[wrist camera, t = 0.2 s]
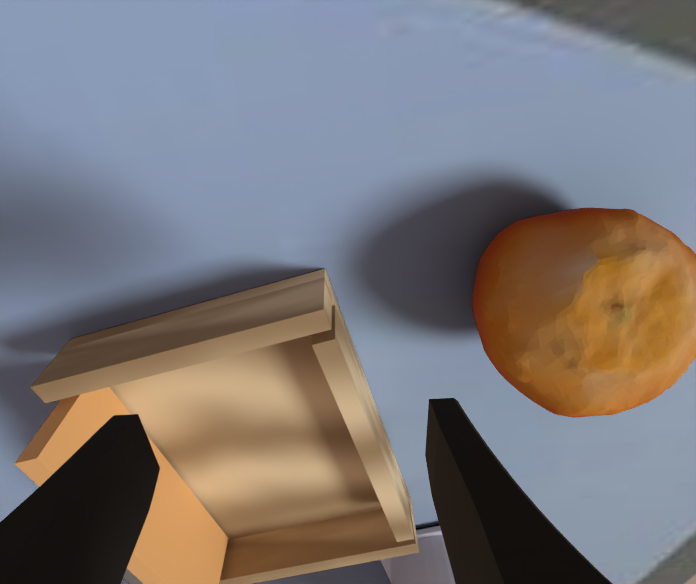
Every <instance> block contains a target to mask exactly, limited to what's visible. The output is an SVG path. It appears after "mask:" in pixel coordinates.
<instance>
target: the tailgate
mask: <svg viewBox="0 0 696 584" xmlns="http://www.w3.org/2000/svg"><path fill="white" fill-rule="evenodd" d="M114 415H130V413H129V411H128V410H127V409H126V407H125V406H124V405H123V404H122V402H121V401H120V400H119V399H118V397H117V396H116V395H115V394H114V392H113V391H112V390H111V388H110V387H107V388H103V389H99V390H95V391H92V392H88V393H84V394H80V395H76V396H72V397H68V398H65V399H61V400H60V401H59V403H58V404H57V406H56V407H55V408H54V410H53V411H52V413H51V414H50V415H49V417H48V418H47V419H46V421H45V422H44V424H43V425H42V426H41V428H40V429H39V431H38V432H37V433H36V435H35V436H34V437H33V439H32V440H31V442H30V443H29V444H28V446H27V447H26V448H25V450H24V451H23V453H22V454H21V455H20V457H19V458H18V460H17V461H16V462H15V465H16V466H18V467H19V468H20V469H21V470H22V471H23V472H24V473H25V474H26V475H27V476H28V477H29V478H30V479H32V480H33V481H34V482H35V483H36V484H37V485H38V486H39V487H40V486H41V485H42V484H43V483H44V482H45V481H46V480H47V479H48V478H49V477H50V476H51V475H52V474H54V473H55V472H56V471H57V470H58V469H59V468H60V467H61V466H62V465H63V464H64V463H65V462H66V461H67V460H68V459H69V458H70V457H71V456H72V455H73V454H74V453H75V452H76V451H77V450H78V449H79V448H80V447H81V446H82V445H83V444H84V443H85V442H86V441H88V440H89V439H90V438H91V437H92V436H93V435H94V434H95V433H96V432H97V431H98V430H99V429H100V428H101V427H102V426H103V425H104V424H105V423H106V422H107V421H108V420H109V419H110V418H111V417H113V416H114ZM146 435H147V434H146ZM147 437H148V435H147ZM148 439H149V442H150V444H151V447H152V449H153V452H154V454H155V457H156V459H157V462H158V464H159V467H160V471H159V475H158V479H157V483H156V487H155V491H154V495H153V499H152V502H151V506H150V509H149V512H148V515H147V518H146V520H145V523H144V525H143V528H142V531H141V533H140V536H139V538H138V541H137V543H136V546H135V549H134V551H133V554H132V556H131V559H130V561H129V564H128V566H127V569H126V571H125V574H124V576H123V578H124V579H125V580H127V581H128V582H129V583H130V584H219V581H220V577H221V572H222V567H223V562H224V557H225V552H226V547H227V542H228V537H227V536H226V534H225V533H224V532H223V531H222V529H221V528H220V527H219V525H218V524H217V523H216V522H215V520H214V519H213V518H212V517H211V515H210V514H209V513H208V512H207V510H206V509H205V508H204V506H203V505H202V504H201V503H200V501H199V500H198V499H197V498H196V496H195V495H194V494H193V492H192V491H191V490H190V489H189V487H188V486H187V485H186V484H185V482H184V481H183V480H182V479H181V477H180V476H179V475H178V473H177V472H176V471H175V470H174V468H173V467H172V466H171V465H170V463H169V462H168V461H167V460H166V458H165V457H164V456H163V454H162V453H161V452H160V451H159V449H158V448H157V447H156V446H155V444H154V443H153V442H152V440H151V439H150V438H149V437H148Z"/></svg>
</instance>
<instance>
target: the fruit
mask: <svg viewBox="0 0 696 584" xmlns="http://www.w3.org/2000/svg"><path fill="white" fill-rule="evenodd" d="M472 309H473V316H474V319H475V323H476V326H477V329H478V332H479V335H480V338H481V341H482V345H483V348H484V350H485V352H486V354H487V356H488V357H489V359H490V361H491V362H492V364H493V365H494V366H495V368H496V369H497V370H498V372H499V373H500V374H501V375H502V376H503V377H504V378H505V379H506V380H507V381H508V382H509V383H510V384H511V385H513V386H514V387H515V388H516V389H517V390H518V391H520V392H521V393H522V394H524V395H525V396H526V397H528V398H529V399H530V400H532V401H533V402H535V403H537V404H538V405H540V406H541V407H543V408H545V409H546V410H548V411H550V412H552V413H554V414H557V415H562V416H568V417H586V416H598V415H613V414H617V413H619V412H622V411H625V410H629V409H632V408H635V407H637V406H639V405H642V404H644V403H647V402H649V401H651V400H653V399H654V398H656V397H657V396H659V395H661V394H662V393H663V392H664V391H665V390H666V389H668V388H670V387H671V386H672V385H674V384H675V383H676V381H677V380H678V379H679V378H680V377H681V376H682V375H683V374H684V373H685V372H686V371H687V369H688V366H689V365H690V364H691V363H692V361H693V360H694V359H695V358H696V254H695V253H694V252H693V251H692V249H690V248H689V247H688V246H686V245H685V244H684V243H683V242H682V241H681V240H680V239H679V238H678V237H677V236H676V235H675V234H674V233H672V232H671V231H669V230H667V229H666V228H664V227H662V226H660V225H659V224H657V223H655V222H654V221H652V220H650V219H648V218H647V217H645V216H643V215H641V214H639V213H637V212H635V211H634V210H630V209H604V208H579V209H572V210H566V211H560V212H556V213H552V214H547V215H541V216H535V217H530V218H525V219H521V220H518V221H516V222H514V223H513V224H511V225H510V226H508V227H507V228H505V229H503V230H502V231H501V232H499V233H498V234H497V235H496V237H495V238H494V239H493V240H492V241H491V242H490V244H489V245H488V247H487V248H486V250H485V252H484V254H483V255H482V256H481V258H480V260H479V263H478V266H477V270H476V275H475V281H474V289H473V297H472Z"/></svg>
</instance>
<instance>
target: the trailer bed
mask: <svg viewBox="0 0 696 584" xmlns="http://www.w3.org/2000/svg"><path fill="white" fill-rule="evenodd" d="M107 387H110V388H111V390H112V391H113V392H114V394H115V395H116V396H117V397H118V399H119V400H120V401H121V402H122V404H123V405H124V406H125V407H126V409H127V410H128V411H129V413H130V414H138V415H139V417H140V420H141V422H142V425H143V427H144V430H145V432H146V434H147V435H148V437H149V438H150V439H151V440H152V442H153V443H154V444H155V446H156V447H157V448H158V449H159V451H160V452H161V453H162V454H163V456H164V457H165V458H166V460H167V461H168V462H169V463H170V465H171V466H172V467H173V468H174V470H175V471H176V472H177V473H178V475H179V476H180V477H181V479H182V480H183V481H184V482H185V484H186V485H187V486H188V487H189V489H190V490H191V491H192V492H193V494H194V495H195V496H196V498H197V499H198V500H199V501H200V503H201V504H202V505H203V506H204V508H205V509H206V510H207V512H208V513H209V514H210V515H211V517H212V518H213V519H214V520H215V522H216V523H217V524H218V525H219V527H220V528H221V529H222V531H223V532H224V533H225V534H226V536H227V537H228V542H227V547H226V552H225V557H224V562H223V567H222V572H221V577H220V581H219V584H253V583H258V582H264V581H269V580H274V579H280V578H285V577H290V576H296V575H301V574H307V573H312V572H317V571H323V570H328V569H333V568H339V567H344V566H349V565H355V564H360V563H366V562H371V561H376V560H382V559H387V558H392V557H398V556H403V555H408V554H414V553H419V546H418V540H417V534H416V528H415V521H414V515H413V509H412V503H411V499H410V496H409V494H408V491H407V488H406V485H405V483H404V480H403V477H402V475H401V472H400V469H399V467H398V464H397V461H396V458H395V456H394V453H393V450H392V448H391V445H390V442H389V440H388V437H387V434H386V432H385V429H384V426H383V423H382V421H381V418H380V415H379V413H378V410H377V407H376V405H375V402H374V399H373V396H372V394H371V391H370V388H369V386H368V383H367V380H366V378H365V375H364V372H363V369H362V367H361V364H360V361H359V359H358V356H357V353H356V351H355V348H354V345H353V343H352V340H351V337H350V334H349V332H348V329H347V326H346V324H345V321H344V318H343V316H342V313H341V310H340V307H339V305H338V302H337V299H336V297H335V294H334V291H333V289H332V286H331V283H330V281H329V278H328V275H327V272H326V270H325V269H322V270H318V271H315V272H311V273H307V274H304V275H300V276H297V277H293V278H289V279H286V280H282V281H279V282H275V283H271V284H268V285H264V286H261V287H257V288H253V289H250V290H246V291H243V292H239V293H235V294H232V295H228V296H224V297H221V298H217V299H214V300H210V301H206V302H203V303H199V304H196V305H192V306H188V307H185V308H181V309H178V310H174V311H170V312H167V313H163V314H160V315H156V316H152V317H149V318H145V319H142V320H138V321H134V322H131V323H127V324H124V325H120V326H116V327H113V328H109V329H106V330H102V331H98V332H95V333H91V334H88V335H84V336H80V337H77V338H73V339H70V340H69V341H68V342H67V344H66V345H65V346H64V347H63V348H62V350H61V351H60V352H59V353H58V354H57V356H56V357H55V358H54V359H53V360H52V362H51V363H50V364H49V365H48V366H47V368H46V369H45V370H44V371H43V372H42V374H41V375H40V376H39V377H38V378H37V380H36V381H35V382H34V383H33V384H32V386H31V389H32V390H33V391H34V392H35V393H36V394H37V395H38V396H39V397H40V398H41V399H42V401H43V402H44V403H49V402H53V401H57V400H61V399H65V398H68V397H72V396H76V395H80V394H84V393H88V392H92V391H95V390H99V389H103V388H107Z"/></svg>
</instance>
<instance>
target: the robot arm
mask: <svg viewBox="0 0 696 584" xmlns="http://www.w3.org/2000/svg"><path fill="white" fill-rule="evenodd" d="M425 455H426V462H427V468H428V474H429V481H430V487H431V493H432V498H433V502H434V505H435V509H436V513H437V517H438V520H439V524H440V526H436V527H431V528H425V529H420V530H416V534H417V540H418V546H419V553H414V554H408V555H403V556H398V557H392V558H387V559H382V560H380V561H381V563H382V565H383V567H384V569H385V571H386V573H387V575H388V577H389V579H390V582H391V584H612V583H611V582H610V581H609V580H608V579H607V578H605V577H604V576H603V575H602V574H601V573H600V572H599V571H598V570H597V569H596V568H595V567H594V566H593V565H592V564H591V563H590V562H589V561H588V560H587V559H586V558H585V557H584V556H583V555H582V554H581V553H580V552H579V551H578V550H577V549H576V548H575V547H574V546H573V545H572V544H571V543H570V542H569V541H568V540H567V539H566V538H565V537H564V536H563V535H562V534H561V533H560V532H559V531H558V530H557V529H556V528H555V526H554V525H553V524H552V523H551V522H550V521H549V520H548V519H547V518H546V517H545V516H544V514H543V513H542V512H541V511H540V510H539V509H538V508H537V507H536V505H535V504H534V503H533V502H532V501H531V500H530V498H529V497H528V496H527V495H526V494H525V493H524V491H523V490H522V489H521V488H520V487H519V485H518V484H517V483H516V482H515V481H514V479H513V478H512V477H511V476H510V474H509V473H508V472H507V470H506V469H505V468H504V467H503V465H502V464H501V463H500V461H499V460H498V459H497V458H496V456H495V455H494V454H493V452H492V451H491V450H490V448H489V447H488V446H487V444H486V443H485V441H484V440H483V439H482V437H481V436H480V434H479V433H478V432H477V430H476V429H475V427H474V426H473V424H472V423H471V421H470V420H469V418H468V417H467V415H466V414H465V412H464V411H463V409H462V407H461V406H460V404H459V402H458V401H457V400H456V399H454V398H444V399H429V409H428V424H427V439H426V454H425ZM159 471H160V467H159V464H158V462H157V459H156V457H155V454H154V452H153V449H152V447H151V444H150V442H149V439H148V437H147V435H146V432H145V430H144V427H143V425H142V422H141V420H140V417H139V415H138V414H130V415H114V416H113V417H111V418H110V419H109V420H108V421H107V422H106V423H105V424H104V425H103V426H102V427H101V428H100V429H99V430H98V431H97V432H96V433H95V434H94V435H93V436H92V437H91V438H90V439H89V440H88V441H86V442H85V443H84V444H83V445H82V446H81V447H80V448H79V449H78V450H77V451H76V452H75V453H74V454H73V455H72V456H71V457H70V458H69V459H68V460H67V461H66V462H65V463H64V464H63V465H62V466H61V467H60V468H59V469H58V470H57V471H56V472H55V473H54V474H52V475H51V476H50V477H49V478H48V479H47V480H46V481H45V482H44V483H43V484H42V485H41V486H40V487H39V488H38V489H37V490H36V491H35V492H34V493H33V494H31V495H30V496H29V497H28V498H27V499H26V500H25V501H24V502H22V503H21V504H20V505H19V506H18V507H17V508H16V509H15V510H14V511H12V512H11V513H10V514H9V515H8V516H7V517H6V518H5V519H4V520H2V521H1V522H0V584H121V581H122V579H123V576H124V574H125V571H126V569H127V566H128V564H129V561H130V559H131V556H132V554H133V551H134V549H135V546H136V543H137V541H138V538H139V536H140V533H141V531H142V528H143V525H144V523H145V520H146V518H147V515H148V512H149V509H150V506H151V502H152V499H153V495H154V491H155V487H156V483H157V479H158V475H159Z"/></svg>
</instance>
